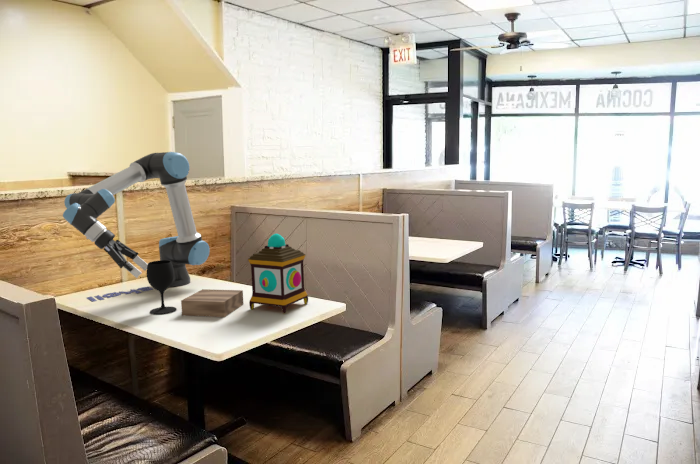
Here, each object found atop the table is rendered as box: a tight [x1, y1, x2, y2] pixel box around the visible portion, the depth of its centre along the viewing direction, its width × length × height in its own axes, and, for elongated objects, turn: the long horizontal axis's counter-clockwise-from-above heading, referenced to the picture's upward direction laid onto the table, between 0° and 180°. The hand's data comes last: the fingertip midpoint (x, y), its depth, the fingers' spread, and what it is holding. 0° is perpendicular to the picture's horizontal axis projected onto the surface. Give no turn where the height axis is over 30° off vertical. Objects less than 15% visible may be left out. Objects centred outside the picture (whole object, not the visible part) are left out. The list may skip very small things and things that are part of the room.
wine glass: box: [146, 259, 178, 316], centre depth 219 cm, size 10×10×20 cm
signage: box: [86, 286, 154, 303], centre depth 251 cm, size 28×1×10 cm
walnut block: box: [180, 288, 244, 318], centre depth 220 cm, size 18×18×6 cm
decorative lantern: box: [247, 233, 309, 315], centre depth 221 cm, size 20×20×30 cm
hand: (143, 271), depth 217 cm, fingers open, 13 cm apart
